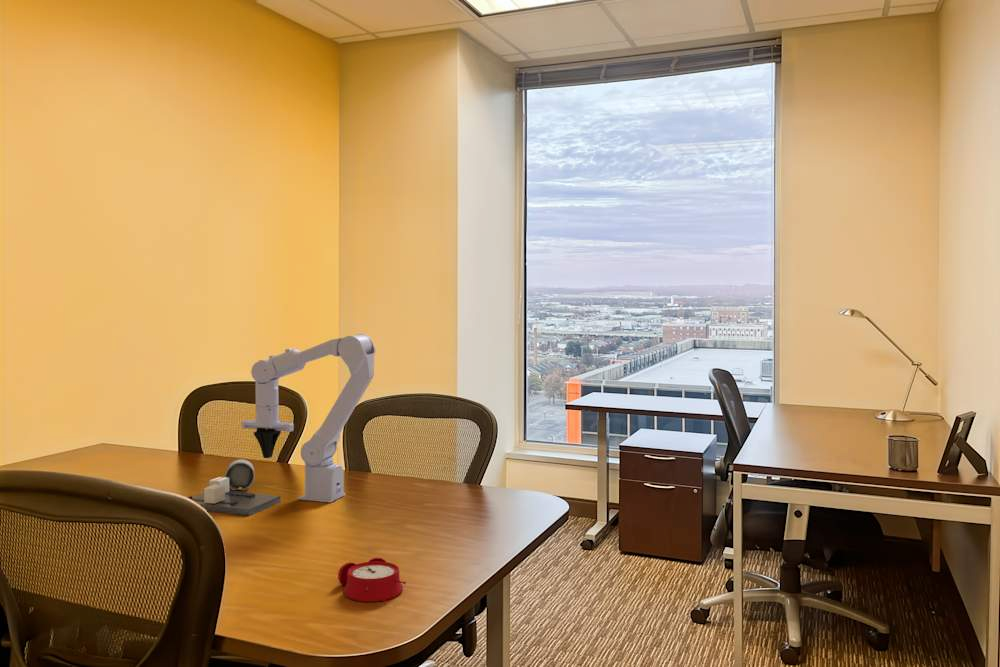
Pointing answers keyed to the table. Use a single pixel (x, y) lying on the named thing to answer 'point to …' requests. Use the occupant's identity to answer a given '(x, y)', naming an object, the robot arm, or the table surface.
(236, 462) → the ceramic mug
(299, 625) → the table surface
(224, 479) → the fader
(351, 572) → the alarm clock
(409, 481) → the table surface
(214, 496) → the block
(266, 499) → the console
